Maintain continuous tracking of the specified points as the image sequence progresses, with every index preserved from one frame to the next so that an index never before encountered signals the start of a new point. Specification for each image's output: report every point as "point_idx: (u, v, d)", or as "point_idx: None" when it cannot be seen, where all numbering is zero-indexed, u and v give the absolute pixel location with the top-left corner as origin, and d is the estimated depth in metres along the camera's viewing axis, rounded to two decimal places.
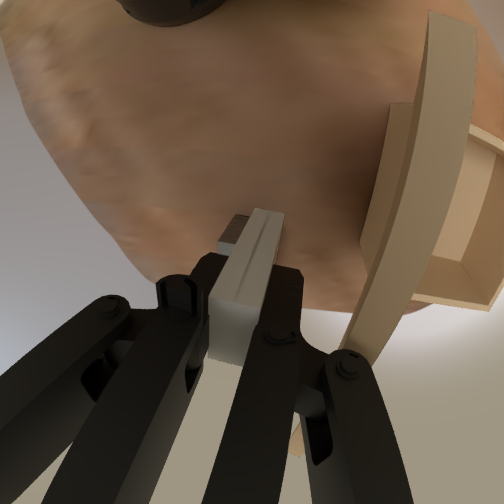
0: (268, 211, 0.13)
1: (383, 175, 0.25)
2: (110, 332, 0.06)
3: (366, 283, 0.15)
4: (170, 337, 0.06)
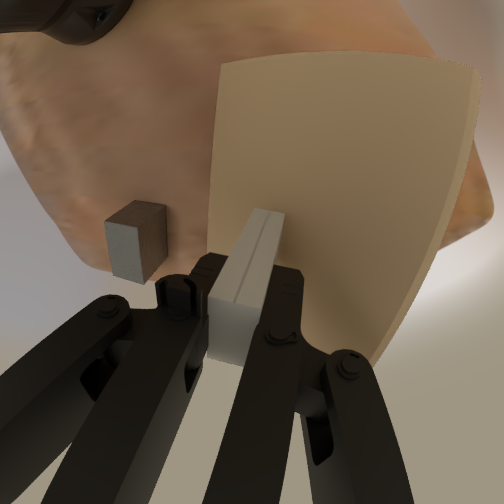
0: (268, 212, 0.13)
1: None
2: (110, 332, 0.06)
3: None
4: (169, 337, 0.06)
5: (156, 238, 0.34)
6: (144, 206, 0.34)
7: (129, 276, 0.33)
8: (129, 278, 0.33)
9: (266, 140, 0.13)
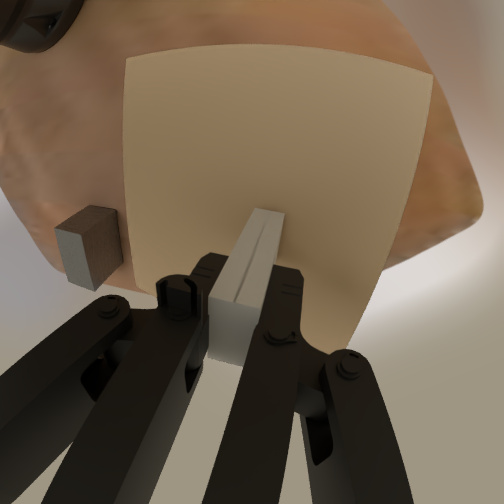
0: (268, 212, 0.13)
1: None
2: (110, 332, 0.06)
3: None
4: (170, 337, 0.06)
5: (106, 244, 0.31)
6: (95, 211, 0.31)
7: (81, 283, 0.30)
8: (82, 285, 0.30)
9: (213, 132, 0.12)
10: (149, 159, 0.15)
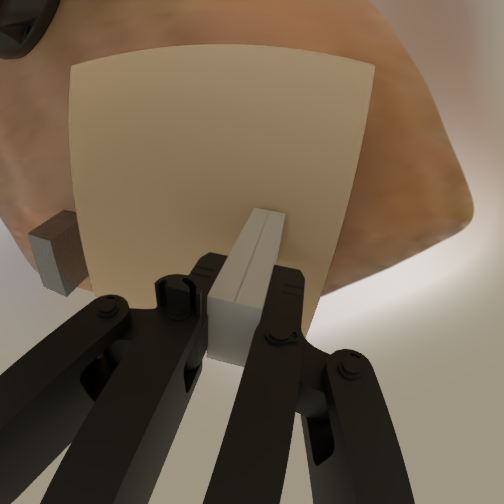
0: (269, 212, 0.13)
1: None
2: (109, 332, 0.06)
3: (174, 256, 0.16)
4: (169, 337, 0.06)
5: (78, 249, 0.30)
6: (67, 216, 0.29)
7: (55, 288, 0.28)
8: (55, 290, 0.29)
9: (159, 134, 0.12)
10: (97, 166, 0.14)
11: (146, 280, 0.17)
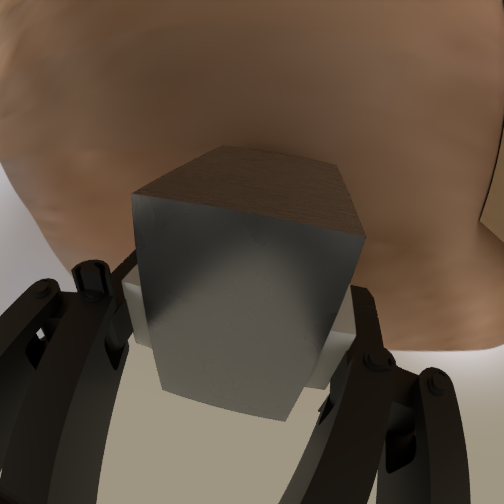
0: None
1: None
2: (44, 307, 0.06)
3: None
4: (87, 315, 0.06)
5: None
6: (274, 159, 0.10)
7: (232, 402, 0.09)
8: (230, 406, 0.09)
9: None
10: None
11: None
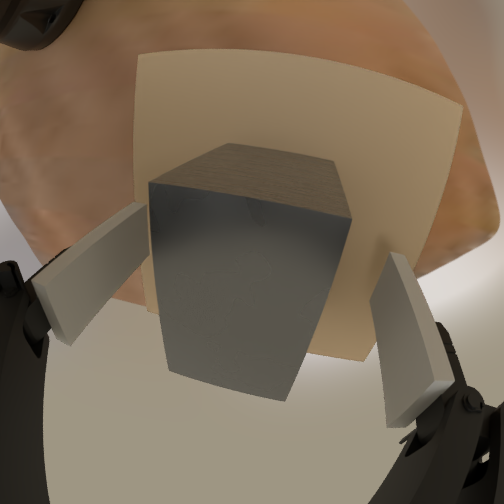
0: (390, 253, 0.11)
1: None
2: None
3: None
4: (6, 309, 0.05)
5: None
6: (276, 155, 0.11)
7: (234, 381, 0.10)
8: (233, 385, 0.10)
9: (262, 144, 0.12)
10: None
11: None
